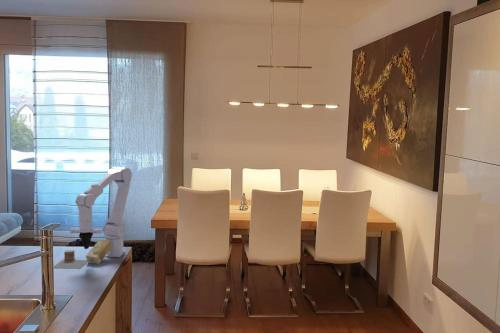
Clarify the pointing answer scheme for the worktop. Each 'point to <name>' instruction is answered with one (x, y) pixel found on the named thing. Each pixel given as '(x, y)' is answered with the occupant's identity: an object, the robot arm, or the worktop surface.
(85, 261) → the felt mat
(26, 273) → the worktop surface
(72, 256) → the walnut cube
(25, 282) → the worktop surface
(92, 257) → the skincare box
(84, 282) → the worktop surface
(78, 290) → the worktop surface
